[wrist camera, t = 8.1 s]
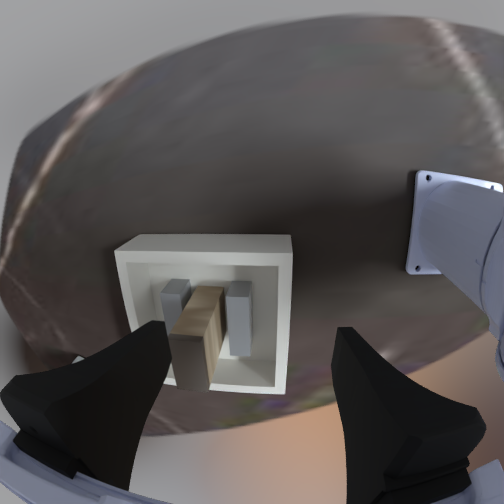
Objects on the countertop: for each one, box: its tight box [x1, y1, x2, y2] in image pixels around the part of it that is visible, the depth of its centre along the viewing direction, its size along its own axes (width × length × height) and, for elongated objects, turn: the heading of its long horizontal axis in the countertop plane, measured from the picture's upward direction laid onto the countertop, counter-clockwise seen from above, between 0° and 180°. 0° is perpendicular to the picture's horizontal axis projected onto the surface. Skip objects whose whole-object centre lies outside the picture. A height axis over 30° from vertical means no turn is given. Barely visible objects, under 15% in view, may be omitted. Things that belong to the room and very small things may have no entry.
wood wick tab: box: [168, 286, 226, 393], centre depth 19 cm, size 2×4×7 cm, turn 0°
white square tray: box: [114, 234, 293, 394], centre depth 21 cm, size 12×12×4 cm
